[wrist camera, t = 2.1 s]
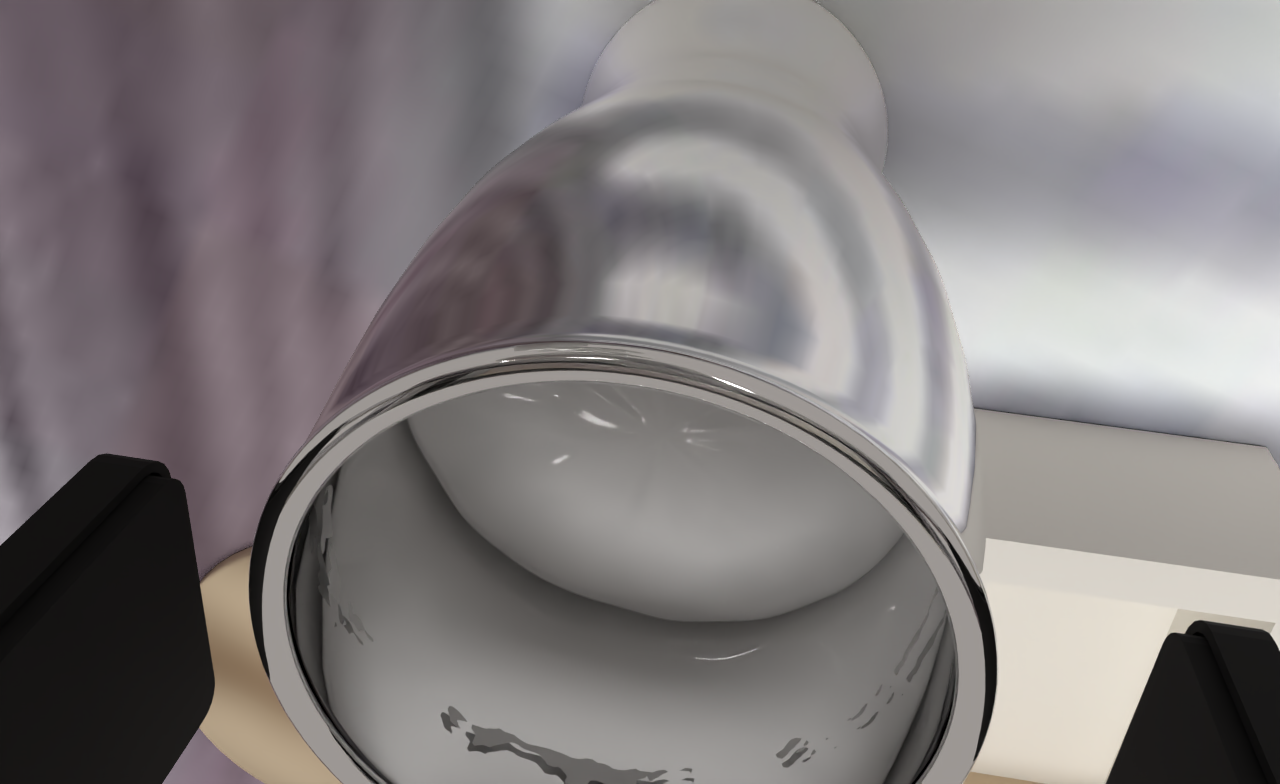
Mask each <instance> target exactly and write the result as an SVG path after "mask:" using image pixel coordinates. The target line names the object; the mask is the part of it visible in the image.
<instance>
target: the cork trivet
mask: <svg viewBox="0 0 1280 784" xmlns="http://www.w3.org/2000/svg"><path fill="white" fill-rule="evenodd" d="M251 551H252V547H249V548H247V549H245V550H242V551H240V552H238V553H235V554H233V555H232V556H230V557H228V558H227V559H225V560H224V561H222V562H220V563H219V564H217V565H216V566H215V567H214V568H213V569H212V570H211V571H210V572H209V573H208V574H206V575H205V577H204V578H203V579H202V580H201V582H200V588H201V594H202V600H203V607H204V613H205V619H206V626H207V632H208V638H209V645H210V651H211V657H212V664H213V670H214V676H215V690H214V696H213V700H212V704H211V706H210V709H209V711H208V713H207V715H206V717H205V719H204V720H203V722H202V723H201V725H200V727H199V728H200V729H201V730H202V732H203V733H204V734H205V736H206V737H207V738H208V739H209V740H210V741H211V742H212V743H213V744H214V745H215V746H216V747H217V748H218V749H219V750H220V751H221V752H222V753H223V754H225V755H226V756H227V757H228V758H229V759H230V760H232V761H233V762H234V763H235V764H236V765H238V766H239V767H241V768H242V769H243V770H245V771H246V772H248V773H249V774H250V775H252V776H253V777H255V778H257V779H258V780H260V781H262V782H264V783H265V784H342V783H341V782H340V781H339V780H338V779H337V778H336V777H335V776H334V775H333V774H332V773H331V772H330V771H329V770H328V769H327V768H326V767H325V765H324V764H323V763H322V762H321V761H320V760H319V759H318V757H317V756H316V755H315V754H314V753H313V752H312V750H311V749H310V748H309V747H308V745H307V744H306V743H305V742H304V740H303V739H302V737H301V736H300V735H299V733H298V732H297V730H296V729H295V727H294V726H293V724H292V723H291V721H290V720H289V718H288V717H287V715H286V713H285V711H284V710H283V708H282V706H281V704H280V703H279V701H278V699H277V697H276V695H275V693H274V691H273V689H272V686H271V684H270V682H269V680H268V677H267V675H266V672H265V670H264V668H263V665H262V662H261V658H260V655H259V652H258V648H257V645H256V641H255V637H254V632H253V628H252V622H251V615H250V607H249V588H248V584H249V566H250V557H251Z"/></svg>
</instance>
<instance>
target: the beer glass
mask: <svg viewBox="0 0 1280 784" xmlns="http://www.w3.org/2000/svg"><path fill="white" fill-rule="evenodd" d="M887 144H888V119H887V110H886V104H885V99H884V95H883V92H882V88H881V85H880V82H879V79H878V77H877V74H876V72H875V70H874V68H873V65H872V63H871V62H870V60H869V58H868V56H867V54H866V53H865V51H864V50H863V48H862V47H861V45H860V44H859V42H858V41H857V40H856V38H855V37H854V36H853V35H852V33H851V32H850V31H849V30H848V29H847V28H846V27H845V26H844V25H843V24H842V23H841V22H840V21H839V20H838V19H837V18H836V17H835V16H834V15H833V14H831V13H830V12H829V11H828V10H826V9H825V8H823V7H822V6H821V5H819V4H817V3H816V2H814V1H813V0H655V1H653V2H652V3H650V4H649V5H647V6H646V7H644V8H643V9H641V10H640V11H639V12H637V13H636V14H635V15H634V16H633V17H632V18H630V19H629V20H628V21H627V22H626V23H625V24H624V25H623V26H622V27H621V28H620V29H619V30H618V31H617V33H616V34H615V35H614V36H613V37H612V39H611V40H610V41H609V43H608V44H607V46H606V47H605V49H604V50H603V52H602V53H601V55H600V57H599V59H598V61H597V63H596V65H595V67H594V69H593V71H592V73H591V75H590V78H589V80H588V83H587V86H586V89H585V93H584V97H583V101H582V106H581V107H579V108H577V109H576V110H574V111H572V112H570V113H568V114H566V115H565V116H563V117H561V118H559V119H558V120H556V121H554V122H553V123H551V124H550V125H548V126H547V127H545V128H544V129H543V130H541V131H540V132H538V133H537V134H536V135H534V136H533V137H532V138H530V139H529V140H528V141H526V142H525V143H524V144H522V145H521V146H520V147H518V148H517V149H515V150H514V151H513V152H511V153H510V154H509V155H507V156H506V157H505V158H503V159H502V160H501V161H500V162H498V163H497V164H496V165H495V166H494V167H492V168H491V169H490V170H489V171H488V172H487V173H486V174H485V175H484V176H483V177H482V178H481V179H480V180H479V181H478V182H477V183H476V184H475V185H474V186H473V187H472V188H471V189H470V190H469V191H468V193H467V194H466V195H465V196H464V197H463V198H462V199H461V201H460V202H459V203H458V204H457V205H456V206H455V207H454V208H453V210H452V211H451V212H450V213H449V214H448V215H447V216H446V217H445V219H444V220H443V221H442V222H441V223H440V224H439V225H438V226H437V228H436V229H435V230H434V231H433V232H432V233H431V235H430V236H429V237H428V238H427V240H426V241H425V242H424V244H423V245H422V246H421V248H420V249H419V250H418V252H417V253H416V255H415V256H414V258H413V259H412V261H411V262H410V264H409V265H408V267H407V268H406V270H405V271H404V273H403V274H402V276H401V277H400V278H399V280H398V281H397V283H396V284H395V286H394V287H393V289H392V290H391V292H390V293H389V295H388V296H387V298H386V299H385V301H384V302H383V304H382V305H381V307H380V308H379V310H378V311H377V313H376V315H375V317H374V318H373V320H372V322H371V323H370V325H369V327H368V329H367V330H366V332H365V334H364V336H363V337H362V339H361V341H360V343H359V344H358V346H357V348H356V350H355V351H354V353H353V355H352V357H351V358H350V360H349V362H348V364H347V365H346V367H345V369H344V371H343V373H342V374H341V376H340V378H339V380H338V382H337V384H336V385H335V387H334V389H333V391H332V393H331V395H330V397H329V399H328V401H327V403H326V404H325V406H324V408H323V410H322V412H321V414H320V416H319V418H318V420H317V422H316V423H315V425H314V427H313V429H312V431H311V432H310V434H309V436H308V438H307V439H306V441H305V443H304V444H303V445H302V446H301V448H300V449H299V450H298V451H297V452H296V453H295V455H294V456H293V457H292V459H291V460H290V461H289V463H288V464H287V466H286V467H285V469H284V470H283V472H282V473H281V475H280V477H279V478H278V480H277V482H276V483H275V485H274V487H273V489H272V491H271V493H270V495H269V497H268V499H267V501H266V504H265V506H264V509H263V511H262V514H261V517H260V520H259V523H258V526H257V529H256V533H255V537H254V541H253V546H252V551H251V557H250V566H249V584H248V588H249V607H250V615H251V622H252V628H253V632H254V637H255V641H256V645H257V648H258V652H259V655H260V658H261V662H262V665H263V668H264V670H265V672H266V675H267V677H268V680H269V682H270V684H271V686H272V689H273V691H274V693H275V695H276V697H277V699H278V701H279V703H280V704H281V706H282V708H283V710H284V711H285V713H286V715H287V717H288V718H289V720H290V721H291V723H292V724H293V726H294V727H295V729H296V730H297V732H298V733H299V735H300V736H301V737H302V739H303V740H304V742H305V743H306V744H307V745H308V747H309V748H310V749H311V750H312V752H313V753H314V754H315V755H316V756H317V757H318V759H319V760H320V761H321V762H322V763H323V764H324V765H325V767H326V768H327V769H328V770H329V771H330V772H331V773H332V774H333V775H334V776H335V777H336V778H337V779H338V780H339V781H340V782H341V783H342V784H963V783H964V781H965V780H966V778H967V776H968V775H969V773H970V771H971V770H972V768H973V766H974V764H975V762H976V760H977V758H978V756H979V754H980V752H981V750H982V747H983V745H984V742H985V740H986V737H987V734H988V731H989V728H990V724H991V720H992V716H993V712H994V707H995V701H996V695H997V686H998V670H999V664H998V646H997V636H996V630H995V624H994V619H993V615H992V611H991V607H990V603H989V594H988V580H987V555H986V528H985V510H984V496H983V482H982V469H981V456H980V446H979V439H978V432H977V426H976V419H975V413H974V406H973V400H972V393H971V387H970V380H969V374H968V368H967V363H966V358H965V354H964V351H963V347H962V344H961V340H960V337H959V333H958V330H957V326H956V323H955V320H954V316H953V313H952V309H951V306H950V302H949V299H948V295H947V292H946V289H945V286H944V283H943V280H942V277H941V275H940V272H939V270H938V267H937V265H936V263H935V261H934V259H933V257H932V255H931V253H930V251H929V249H928V248H927V246H926V244H925V242H924V240H923V238H922V236H921V234H920V233H919V231H918V229H917V227H916V225H915V223H914V221H913V219H912V218H911V216H910V214H909V212H908V210H907V208H906V207H905V205H904V203H903V202H902V200H901V199H900V197H899V195H898V194H897V193H896V191H895V190H894V188H893V187H892V185H891V184H890V183H889V181H888V180H887V179H886V177H885V176H884V175H883V169H884V165H885V160H886V154H887Z"/></svg>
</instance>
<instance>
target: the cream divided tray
mask: <svg viewBox="0 0 1280 784" xmlns="http://www.w3.org/2000/svg"><path fill="white" fill-rule="evenodd" d="M974 413H975V419H976V426H977V432H978V439H979V446H980V456H981V469H982V482H983V496H984V510H985V528H986V555H987V580H988V594H989V603H990V607H991V611H992V615H993V619H994V624H995V630H996V636H997V646H998V664H999V670H998V686H997V695H996V701H995V707H994V712H993V716H992V720H991V724H990V728H989V731H988V734H987V737H986V740H985V742H984V745H983V747H982V750H981V752H980V754H979V756H978V758H977V760H976V762H975V764H974V766H973V768H972V770H971V771H970V773H969V775H968V776H967V778H966V780H965V781H964V783H963V784H1106V782H1107V779H1108V777H1109V774H1110V772H1111V769H1112V767H1113V764H1114V762H1115V760H1116V757H1117V755H1118V752H1119V750H1120V747H1121V745H1122V742H1123V740H1124V737H1125V735H1126V733H1127V730H1128V728H1129V725H1130V723H1131V720H1132V718H1133V715H1134V713H1135V710H1136V708H1137V706H1138V703H1139V701H1140V698H1141V696H1142V693H1143V691H1144V688H1145V686H1146V684H1147V681H1148V679H1149V676H1150V674H1151V671H1152V669H1153V666H1154V664H1155V661H1156V659H1157V657H1158V654H1159V652H1160V649H1161V647H1162V644H1163V642H1164V641H1165V639H1166V637H1167V636H1168V635H1169V634H1170V633H1174V632H1176V633H1182V634H1185V632H1186V630H1187V629H1188V627H1189V626H1190V625H1191V624H1192V623H1193V622H1194V621H1198V620H1204V621H1211V622H1217V623H1224V624H1231V625H1237V626H1244V627H1250V628H1257V629H1263V630H1265V631H1266V632H1268V633H1270V635H1271V636H1272V638H1273V639H1274V641H1275V642H1276V644H1277V646H1278V648H1279V650H1280V469H1279V467H1278V465H1277V464H1276V462H1275V460H1274V459H1273V457H1272V455H1271V454H1270V452H1269V450H1268V449H1267V447H1261V446H1254V445H1246V444H1239V443H1231V442H1224V441H1216V440H1208V439H1201V438H1193V437H1186V436H1178V435H1171V434H1163V433H1156V432H1148V431H1141V430H1133V429H1125V428H1118V427H1110V426H1103V425H1095V424H1088V423H1080V422H1073V421H1065V420H1058V419H1050V418H1042V417H1035V416H1027V415H1020V414H1012V413H1005V412H997V411H990V410H982V409H975V408H974Z"/></svg>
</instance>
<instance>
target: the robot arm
mask: <svg viewBox="0 0 1280 784" xmlns="http://www.w3.org/2000/svg"><path fill="white" fill-rule="evenodd" d="M214 690H215V676H214V670H213V664H212V657H211V651H210V645H209V638H208V632H207V626H206V619H205V613H204V607H203V600H202V594H201V588H200V581H199V575H198V569H197V562H196V556H195V550H194V543H193V537H192V531H191V524H190V518H189V512H188V505H187V499H186V493H185V489H184V486H183V484H182V483H181V482H180V481H179V480H177V479H172V478H171V476H170V473H169V470H168V469H167V467H166V466H165V465H164V464H163V463H161V462H158V461H153V460H146V459H140V458H133V457H126V456H120V455H113V454H101V455H98V456H96V457H95V458H93V459H92V460H91V461H90V462H88V463H87V464H86V465H85V466H84V467H83V468H82V469H81V470H80V471H79V472H78V473H77V474H76V475H75V476H74V477H73V478H72V479H70V480H69V481H68V482H67V483H66V484H65V485H64V486H63V487H62V488H61V489H60V490H59V491H58V492H57V493H56V494H55V495H54V496H52V497H51V498H50V499H49V500H48V501H47V502H46V503H45V504H44V505H43V506H42V507H41V508H40V509H39V510H38V511H37V512H35V513H34V514H33V515H32V516H31V517H30V518H29V519H28V520H27V521H26V522H25V523H24V524H23V525H22V526H21V527H20V528H19V529H17V530H16V531H15V532H14V533H13V534H12V535H11V536H10V537H9V538H8V539H7V540H6V541H5V542H4V543H3V544H2V545H1V546H0V784H162V783H163V781H164V780H165V778H166V777H167V775H168V774H169V772H170V771H171V769H172V768H173V766H174V765H175V763H176V762H177V760H178V759H179V757H180V755H181V754H182V752H183V751H184V749H185V748H186V746H187V745H188V743H189V742H190V740H191V739H192V737H193V736H194V734H195V733H196V731H197V730H198V728H199V727H200V725H201V723H202V722H203V720H204V719H205V717H206V715H207V713H208V711H209V709H210V706H211V704H212V700H213V696H214ZM1106 784H1280V650H1279V648H1278V646H1277V644H1276V642H1275V641H1274V639H1273V638H1272V636H1271V635H1270V633H1268V632H1266V631H1265V630H1263V629H1257V628H1250V627H1244V626H1237V625H1231V624H1224V623H1217V622H1211V621H1204V620H1198V621H1194V622H1193V623H1192V624H1191V625H1190V626H1189V627H1188V629H1187V630H1186V632H1185V634H1182V633H1176V632H1174V633H1170V634H1169V635H1168V636H1167V637H1166V639H1165V641H1164V642H1163V644H1162V647H1161V649H1160V652H1159V654H1158V657H1157V659H1156V661H1155V664H1154V666H1153V669H1152V671H1151V674H1150V676H1149V679H1148V681H1147V684H1146V686H1145V688H1144V691H1143V693H1142V696H1141V698H1140V701H1139V703H1138V706H1137V708H1136V710H1135V713H1134V715H1133V718H1132V720H1131V723H1130V725H1129V728H1128V730H1127V733H1126V735H1125V737H1124V740H1123V742H1122V745H1121V747H1120V750H1119V752H1118V755H1117V757H1116V760H1115V762H1114V764H1113V767H1112V769H1111V772H1110V774H1109V777H1108V779H1107V782H1106Z"/></svg>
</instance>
